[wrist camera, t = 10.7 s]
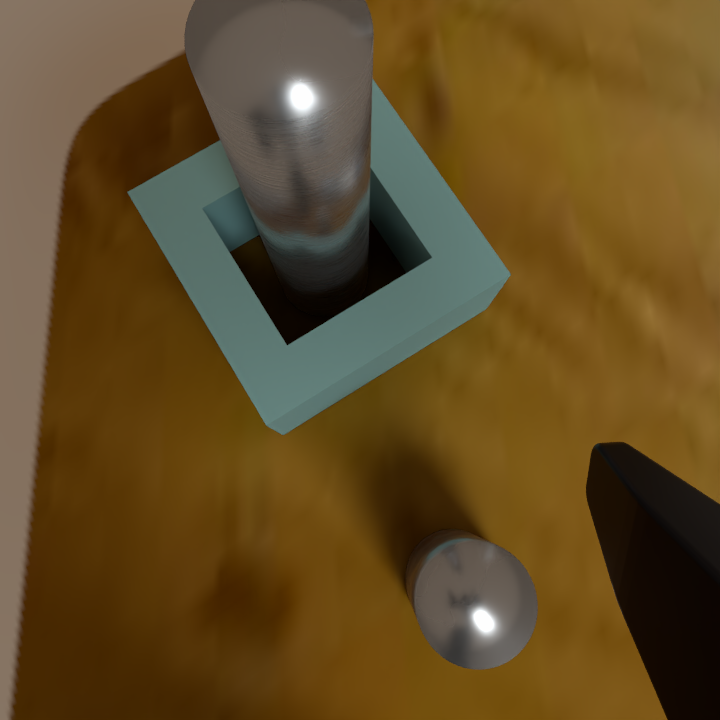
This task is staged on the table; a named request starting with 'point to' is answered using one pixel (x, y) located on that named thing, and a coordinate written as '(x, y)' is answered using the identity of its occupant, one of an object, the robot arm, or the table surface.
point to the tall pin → (295, 132)
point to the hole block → (356, 324)
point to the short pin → (470, 598)
